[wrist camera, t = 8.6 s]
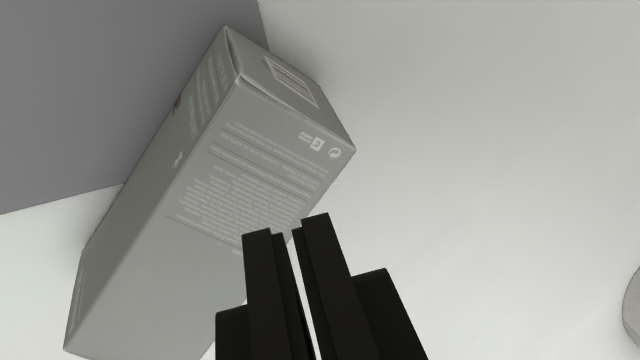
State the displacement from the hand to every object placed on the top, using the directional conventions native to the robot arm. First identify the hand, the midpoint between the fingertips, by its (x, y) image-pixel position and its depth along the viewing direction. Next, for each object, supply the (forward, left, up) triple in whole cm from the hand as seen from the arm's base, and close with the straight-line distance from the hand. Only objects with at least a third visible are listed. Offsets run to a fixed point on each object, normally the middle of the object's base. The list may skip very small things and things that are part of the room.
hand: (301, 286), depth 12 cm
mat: (+7, 0, -22) cm, 23 cm away
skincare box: (-2, +2, -18) cm, 18 cm away
